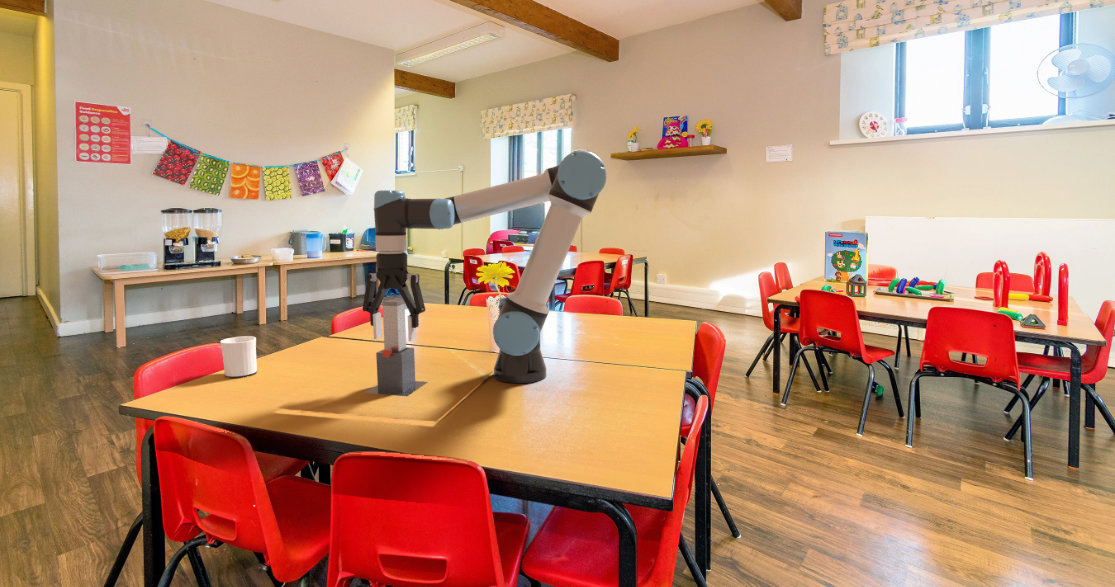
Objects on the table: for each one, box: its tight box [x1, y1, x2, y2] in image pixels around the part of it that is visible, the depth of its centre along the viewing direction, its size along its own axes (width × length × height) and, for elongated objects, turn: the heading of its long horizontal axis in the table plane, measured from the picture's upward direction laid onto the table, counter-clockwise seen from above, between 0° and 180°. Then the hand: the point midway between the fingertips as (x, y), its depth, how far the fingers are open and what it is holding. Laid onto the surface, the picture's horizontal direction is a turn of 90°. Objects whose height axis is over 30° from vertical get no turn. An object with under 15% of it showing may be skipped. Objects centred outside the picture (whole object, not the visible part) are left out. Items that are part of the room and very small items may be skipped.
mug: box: [219, 335, 258, 379], centre depth 157 cm, size 11×9×10 cm
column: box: [381, 299, 407, 353], centre depth 141 cm, size 4×4×23 cm
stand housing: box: [364, 346, 429, 397], centre depth 142 cm, size 12×12×12 cm
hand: (395, 338), depth 141 cm, fingers open, 9 cm apart
